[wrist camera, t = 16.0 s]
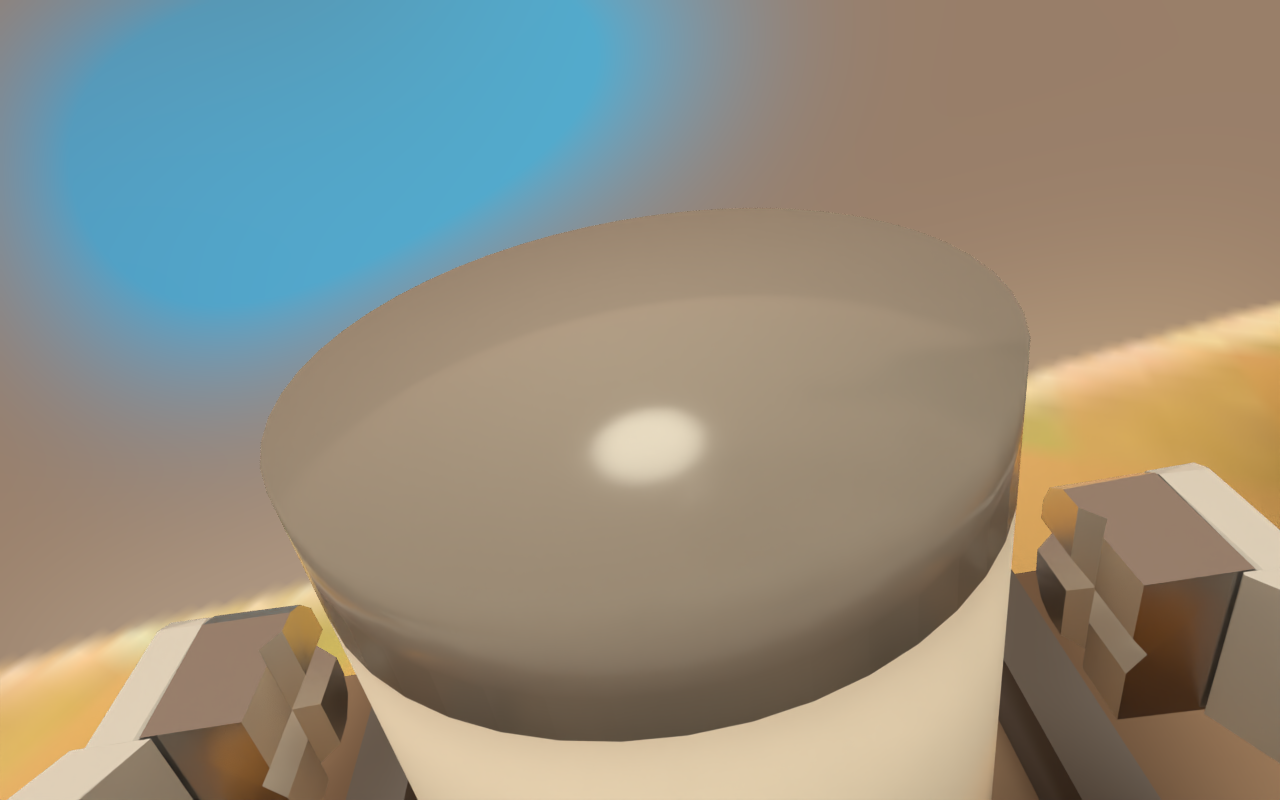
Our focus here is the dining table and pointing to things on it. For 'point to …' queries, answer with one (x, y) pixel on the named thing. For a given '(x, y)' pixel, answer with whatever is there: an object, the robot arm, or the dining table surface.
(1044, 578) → the robot arm
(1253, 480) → the dining table surface
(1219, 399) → the dining table surface
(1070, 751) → the locating board
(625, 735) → the spice jar
